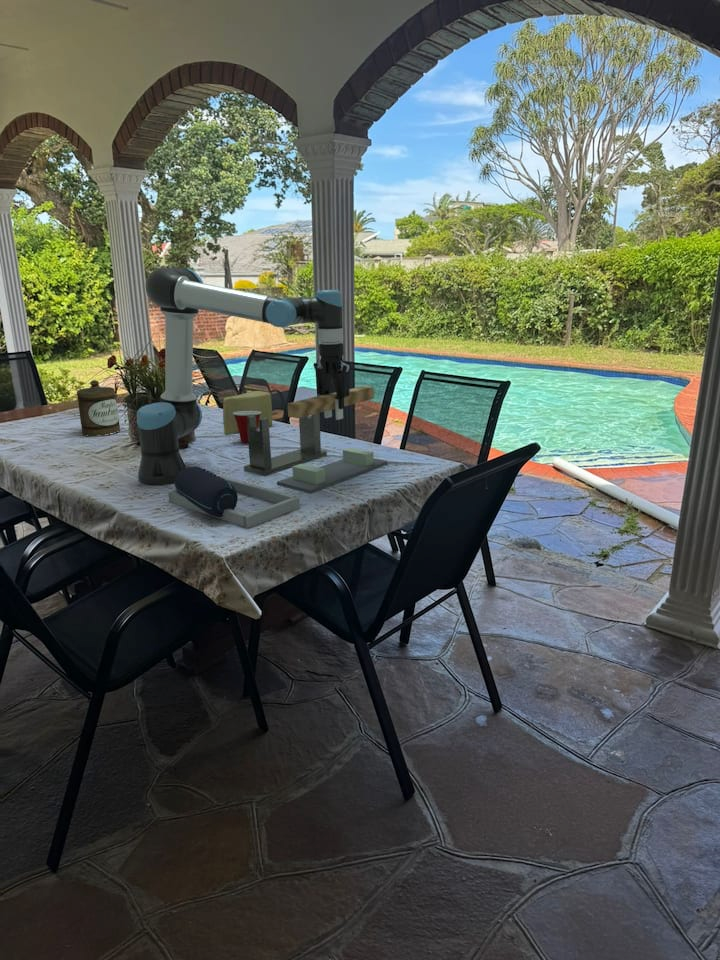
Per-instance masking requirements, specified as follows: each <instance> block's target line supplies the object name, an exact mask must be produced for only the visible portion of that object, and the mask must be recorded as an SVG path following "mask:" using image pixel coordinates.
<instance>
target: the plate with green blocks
mask: <svg viewBox="0 0 720 960" xmlns="http://www.w3.org/2000/svg"><path fill="white" fill-rule="evenodd" d="M386 465H388V461H387V460H383V459H378V458H374V451H370V450H366V449H359V448H354V447H348V448H345V449H342V459H339V460H335V461H334V462H330V463H327V464H323V465H322V466H314V465H309V464H305V463H302V464H299V465H296V466H293V467H292V475H291V476H289V477H287V478H283V479H280V480H278V481H277V482H276V485H278V486H281V487H285V488H289V489H292V490H295V491H300V492H303V493H307V494H312V493H315V492H318V491H320V490H323V489H326V488H328V487H331V486H333V485H336V484H338V483H341V482H344V481H346V480H349V479H352V478H355V477H357V476H359V475H362V474H364V473H368V472H370V471H372V470H375V469H378V468H380V467H381V468H382V466H386Z"/></svg>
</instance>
